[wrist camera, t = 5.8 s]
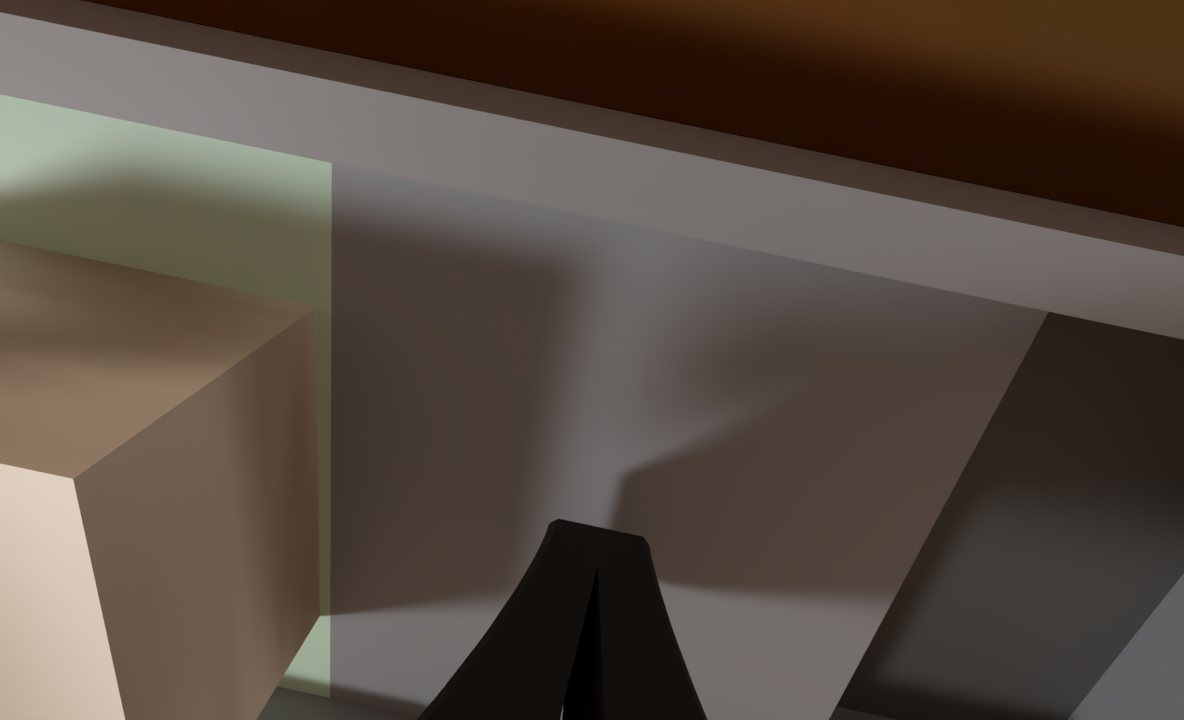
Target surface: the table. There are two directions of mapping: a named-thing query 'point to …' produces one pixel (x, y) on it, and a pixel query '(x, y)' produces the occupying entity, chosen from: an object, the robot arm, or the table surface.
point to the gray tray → (652, 373)
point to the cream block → (152, 492)
